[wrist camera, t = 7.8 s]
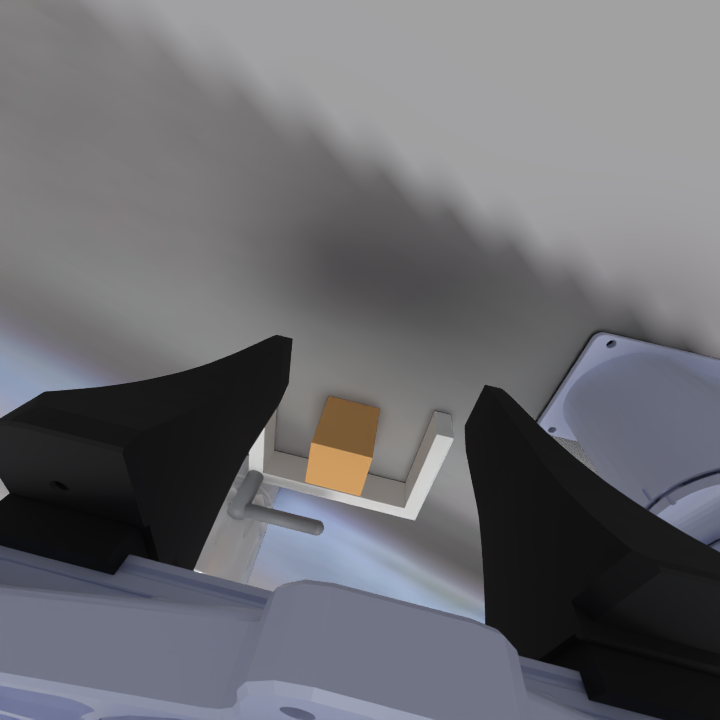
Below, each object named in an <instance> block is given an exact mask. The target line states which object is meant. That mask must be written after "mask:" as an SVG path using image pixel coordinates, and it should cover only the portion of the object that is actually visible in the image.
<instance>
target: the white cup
mask: <svg viewBox="0 0 720 720" xmlns="http://www.w3.org/2000/svg"><path fill="white" fill-rule="evenodd" d="M248 471H249V456H246V458H245V460H244V462H243V464H242V466H241V468H240V470H239V472H238V474H237V476H236V478H235V480H234V482H233V484H232V486H231V488H230V490H229V492H228V494H227V496H226V499H225V501H224V503H223V505H222V507H221V509H220V511H219V513H218V516H217V518H216V520H215V522H214V525H213V527H212V529H211V531H210V534H209V536H208V538H207V540H206V542H205V545H204V547H203V549H202V552H201V554H200V557H199V559H198V561H197V564H196V566H195V568H194V571H195V572H199V573H203V574H207V575H211V576H214V577H218V578H222V579H226V580H230V581H234V582H237V583H241V584H245V585H247V583H248V580H249V577H250V574H251V572H252V569H253V566H254V564H255V561H256V558H257V555H258V552H259V549H260V547H261V544H262V541H263V538H264V536H265V533H266V530H267V526H268V523H265V522H261V521H257V520H253V519H249V518H244V519H242V520H236V519H233V518H231V517H230V516H229V515H228V514H227V510H228V508H229V506H230V504H231V502H232V500H233V499H234V497H235V495H236V493H237V491H238V490H239V488H240V486H241V484H242V482H243V481H244V479H245V477H246V475H247V473H248ZM279 488H280V486H276V485H272V484H268V483H264V482H262V483H261V485H260V487H259V489H258V491H257V493H256V495H255V497H254V499H253V502H252V504H255V505H259V506H263V507H267V508H271V509H272V508H273V505H274V502H275V499H276V497H277V494H278V491H279Z"/></svg>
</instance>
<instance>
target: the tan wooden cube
mask: <svg viewBox="0 0 720 720" xmlns="http://www.w3.org/2000/svg"><path fill="white" fill-rule="evenodd" d="M378 416H379V408H375V407H371V406H367V405H363V404H359V403H355V402H351V401H347V400H343V399H339V398H335V397H331V396H329V398H328V400H327V403H326V405H325V408H324V411H323V413H322V416H321V419H320V421H319V424H318V427H317V429H316V432H315V434H314V437H313V440H312V442H311V448H310V454H309V460H308V467H307V473H306V479H305V482H306V483H310V484H314V485H318V486H322V487H326V488H329V489H333V490H337V491H341V492H345V493H349V494H353V495H357V496H360V495H361V492H362V489H363V486H364V483H365V480H366V477H367V473H368V470H369V467H370V464H371V461H372V457H373V450H374V444H375V437H376V430H377V423H378Z"/></svg>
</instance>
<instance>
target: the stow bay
mask: <svg viewBox="0 0 720 720" xmlns="http://www.w3.org/2000/svg"><path fill="white" fill-rule="evenodd" d="M276 414H277V409H276V410H275V412H274V413H273V415H272V417H271V418H270V420H269V421H268V423H267V424H266V426H265V428H264V429H263V431H262V432H261V434H260V435H259V437H258V439H257V440H256V442H255V443H254V445H253V446H252V448H251V449H250V451H249V471H248V473H247V475H246V477H245V479H244V481H243V482H242V484H241V486H240V488H239V490H238V491H237V493H236V495H235V497H234V499H233V500H232V502H231V504H230V506H229V508H228V510H227V514H228V515H229V516H230V517H231V518H233V519H236V520H242V519H244V518H249V519H253V520H257V521H261V522H265V523H269V524H273V525H277V526H281V527H285V528H289V529H293V530H296V531H300V532H304V533H308V534H312V535H320V534H321V533H322V532H323V530H324V525H323V523H322V522H321V521H319V520H315V519H311V518H307V517H303V516H299V515H295V514H291V513H287V512H283V511H279V510H275V509H271V508H267V507H263V506H259V505H255V504H252V502H253V499H254V497H255V495H256V493H257V491H258V489H259V487H260V485H261V483H262V482H264V483H268V484H272V485H276V486H280V487H284V488H288V489H292V490H296V491H300V492H304V493H308V494H312V495H316V496H320V497H324V498H327V499H331V500H335V501H339V502H343V503H347V504H351V505H355V506H359V507H363V508H367V509H371V510H375V511H379V512H383V513H387V514H391V515H395V516H399V517H403V518H407V519H411V520H415V519H416V517H417V515H418V513H419V511H420V509H421V506H422V504H423V502H424V500H425V498H426V496H427V494H428V492H429V490H430V488H431V486H432V484H433V482H434V479H435V477H436V475H437V473H438V471H439V469H440V467H441V465H442V463H443V461H444V459H445V457H446V455H447V452H448V450H449V448H450V446H451V444H452V442H453V440H454V434H453V428H452V421H451V415H450V414H446V413H441V412H437V411H434V414H433V416H432V419H431V421H430V424H429V426H428V428H427V431H426V433H425V436H424V438H423V441H422V443H421V446H420V448H419V450H418V453H417V455H416V458H415V460H414V463H413V465H412V467H411V470H410V472H409V475H408V477H407V480H406V482H405V483H403V482H399V481H395V480H391V479H387V478H383V477H379V476H375V475H371V474H367V477H366V480H365V483H364V486H363V489H362V492H361V495H360V496H357V495H353V494H349V493H345V492H341V491H337V490H333V489H329V488H326V487H322V486H318V485H314V484H310V483H306V482H305V479H306V473H307V467H308V460H309V459H306V458H302V457H298V456H294V455H290V454H286V453H282V452H278V451H274V444H275V429H276Z"/></svg>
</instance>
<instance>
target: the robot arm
mask: <svg viewBox="0 0 720 720" xmlns="http://www.w3.org/2000/svg"><path fill="white" fill-rule="evenodd" d="M611 340H613V342H612V343H611V344H609V345H607V343H608V342H609V341H611ZM291 350H292V338H287V337H283V336H279V335H275V336H272V337H270V338H268V339H266V340H263V341H261V342H259V343H257V344H255V345H253V346H250V347H248V348H246V349H244V350H241V351H239V352H237V353H235V354H232V355H230V356H227V357H224V358H222V359H219V360H217V361H214V362H212V363H209V364H206V365H203V366H200V367H197V368H193V369H190V370H187V371H183V372H179V373H175V374H171V375H166V376H162V377H157V378H153V379H148V380H143V381H138V382H132V383H126V384H119V385H112V386H104V387H95V388H85V389H73V390H61V391H47V392H43V393H42V394H40V395H38V396H37V397H35V398H33V399H32V400H30V401H28V402H27V403H25V404H23V405H22V406H20V407H18V408H17V409H15V410H13V411H12V412H10V413H8V414H7V415H5V416H3V417H2V418H0V478H1V480H2V481H3V483H4V485H5V486H6V488H7V489H8V491H9V493H10V494H8V495H7V496H6V497H5V498H3V499H2V500H1V501H0V720H720V359H718V358H713V357H709V356H705V355H700V354H696V353H692V352H687V351H683V350H679V349H675V348H670V347H666V346H662V345H657V344H653V343H649V342H644V341H640V340H636V339H632V338H627V337H623V336H619V335H614V334H610V333H606V332H600V333H597V334H595V335H594V336H593V337H592V338H591V340H590V341H589V343H588V344H587V346H586V348H585V349H584V351H583V352H582V354H581V355H580V357H579V358H578V360H577V361H576V363H575V364H574V366H573V368H572V369H571V371H570V372H569V374H568V375H567V377H566V378H565V380H564V381H563V383H562V385H561V386H560V388H559V389H558V391H557V392H556V394H555V395H554V397H553V398H552V400H551V401H550V403H549V405H548V406H547V408H546V409H545V411H544V412H543V414H542V415H541V417H540V418H539V420H538V421H537V422H536V421H535V420H534V419H533V418H532V417H531V416H530V415H529V414H528V413H527V412H526V411H525V410H524V409H523V408H522V407H521V406H520V405H519V404H518V403H517V402H516V401H515V400H514V399H513V398H512V397H511V396H510V395H509V394H507V393H506V392H505V391H504V390H503V389H501V388H497V387H492V386H488V385H485V386H484V388H483V390H482V392H481V394H480V396H479V398H478V400H477V402H476V404H475V406H474V408H473V410H472V412H471V414H470V416H469V418H468V420H467V422H466V425H465V444H466V454H467V459H468V464H469V469H470V474H471V479H472V484H473V489H474V494H475V499H476V503H477V509H478V515H479V522H480V533H481V544H482V558H483V573H484V595H485V624H483V623H480V622H478V621H476V620H473V619H470V618H466V617H463V616H459V615H455V614H451V613H447V612H443V611H439V610H435V609H432V608H428V607H424V606H420V605H416V604H412V603H408V602H405V601H401V600H397V599H393V598H389V597H385V596H381V595H377V594H374V593H370V592H366V591H362V590H358V589H354V588H350V587H346V586H343V585H339V584H335V583H328V582H320V581H312V580H301V581H296V582H292V583H287V584H283V585H281V586H280V587H278V588H276V590H275V591H274V592H272V591H268V590H264V589H260V588H257V587H253V586H249V585H245V584H241V583H237V582H234V581H230V580H226V579H222V578H218V577H214V576H211V575H207V574H203V573H199V572H195V571H194V568H195V566H196V564H197V561H198V559H199V557H200V554H201V552H202V549H203V547H204V545H205V542H206V540H207V538H208V536H209V534H210V531H211V529H212V527H213V525H214V522H215V520H216V518H217V516H218V513H219V511H220V509H221V507H222V505H223V503H224V501H225V499H226V496H227V494H228V492H229V490H230V488H231V486H232V484H233V482H234V480H235V478H236V476H237V474H238V472H239V470H240V468H241V466H242V464H243V462H244V460H245V458H246V456H247V455H248V453H249V451H250V449H251V448H252V446H253V445H254V443H255V442H256V440H257V439H258V437H259V435H260V434H261V432H262V431H263V429H264V428H265V426H266V424H267V423H268V421H269V420H270V418H271V417H272V415H273V413H274V412H275V410H276V409H277V407H278V405H279V403H280V401H281V399H282V397H283V395H284V393H285V390H286V388H287V386H288V384H289V373H290V362H291ZM550 427H553V428H551V429H549V428H550ZM550 435H552V436H557V437H561V438H565V439H569V440H573V441H577V442H579V444H580V446H581V447H582V449H583V451H584V452H585V454H586V455H587V457H588V459H589V460H590V462H591V464H592V465H593V467H594V469H595V470H596V472H597V473H598V475H599V476H598V475H596V474H595V473H594V472H593V471H591V470H590V469H589V468H588V467H586V466H585V465H584V464H582V463H581V462H580V461H579V460H577V459H576V458H575V457H574V456H573V455H571V454H570V453H569V452H568V451H567V450H566V449H565V448H563V447H562V446H561V445H560V444H559V443H558V442H557V441H556V440H555V439H553V438H552V437H551V436H550Z"/></svg>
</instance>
